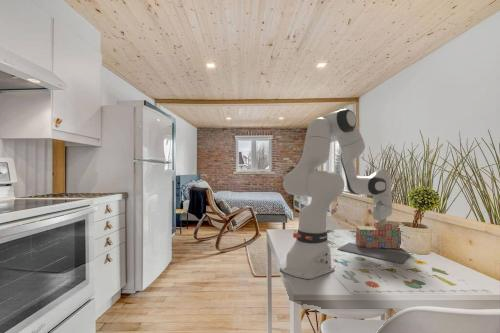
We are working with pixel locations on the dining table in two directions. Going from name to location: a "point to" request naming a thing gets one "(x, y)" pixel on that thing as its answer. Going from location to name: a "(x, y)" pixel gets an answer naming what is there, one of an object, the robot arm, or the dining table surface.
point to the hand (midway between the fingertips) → (383, 226)
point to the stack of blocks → (379, 235)
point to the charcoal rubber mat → (375, 253)
